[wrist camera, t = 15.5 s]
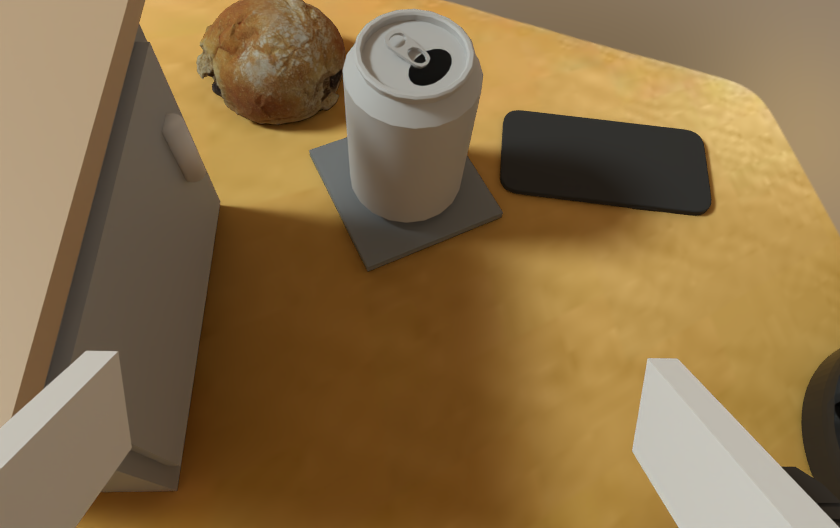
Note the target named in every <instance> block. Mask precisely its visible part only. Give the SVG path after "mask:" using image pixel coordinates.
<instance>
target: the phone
mask: <svg viewBox="0 0 840 528" xmlns="http://www.w3.org/2000/svg"><path fill="white" fill-rule="evenodd" d="M500 180H501V183H502V185H503V187H504V188H505V189H506V190H508V191H510V192H512V193H516V194H522V195H530V196H538V197H546V198H554V199H562V200H570V201H579V202H587V203H595V204H603V205H611V206H619V207H627V208H632V209H640V210H648V211H659V212H667V213H675V214H684V215H693V216H697V215H702V214H704V213H705V212H706V211H707V210H708V209H709V207H710V205H711V193H710V185H709V178H708V170H707V163H706V156H705V149H704V143H703V141H702V139H701V137H700V136H699V135H698V134H696V133H694V132H692V131H689V130H684V129H676V128H667V127H659V126H650V125H642V124H633V123H624V122H616V121H607V120H599V119H590V118H582V117H573V116H565V115H556V114H547V113H539V112H530V111H521V110H516V111H511V112H509V113H508V114H507V115H506V116H505V118H504V122H503V132H502V150H501V170H500Z"/></svg>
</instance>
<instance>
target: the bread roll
mask: <svg viewBox="0 0 840 528" xmlns="http://www.w3.org/2000/svg"><path fill="white" fill-rule="evenodd" d="M200 46H201V47H202V49H203V53H202V54H201V55H199V56H198V58H197V72H198V74H200V76H201V78H202V79H203V78H204V77H207V76H211V77H213V79H214V81H215V82H214V83H213V84H212V90H213V92H214V93H216V94H217V95H219V96H221V97H222V98H223V99H224V102H225V104H226V106H227V107H228V108H230V109H231V110H233V111H235V112H236V114H237V115H241V116H243V117H245V118H248V119H249V120H252V121H254V122H257V123H260V124H264V123H268V124H277V125H279V124H282V123H287V122H295V121H300V120H303V119H307V118H309V117H311V116H313V115H315V114H316V113H317V112H318V111H319V110H322V109H326V110H329V109H330V108H331V107H332V106H333V105H334V104H335V103H336V101H337V99H338V97H339V95H338V94H335V92H336V91H337V89H338V86H339V83H340V81H341V78H342V74H343V67H344V63H345V48H344V43H343V40H342V37H341V35H340V33H339V31H338V29H337V28H336V26H335V25H334V24H333V22H332V21H331V20H330V19H329V18H328V17H326V16H325V15H324V14H323V13H322V12H321V11H320V10H319V9H318V8H316V7H314V6H312V5H310V4H307V3H305V2H304V1H303V0H241V1H238V2H236V3H234V4H232V5H231V6H230V7H228V8H226V9H225V10H224V11H223V12H222V13H221V14H220V15H219V16H218V18H217V19H216V20H215V22H214V23H213V24H212V25H210V26H208V27H207V29H206V32H205V34H204V36H203V39H202V40H201V42H200Z"/></svg>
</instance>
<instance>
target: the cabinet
mask: <svg viewBox="0 0 840 528" xmlns="http://www.w3.org/2000/svg"><path fill="white" fill-rule="evenodd" d="M144 3H145V0H0V428H1V427H2V426H3V425H4V424H5V423H6V422H7V421H9V420H10V419H11V418H12V417H13V416H14V415H15V414H16V413H17V412H19V411H20V410H21V409H22V408H23V407H24V406H25V405H26V404H27V403H29V402H30V401H31V400H32V399H33V398H34V397H35V396H36V395H37V394H39V393H40V392H41V391H42V390H43V389H44V388H45V387H46V386H47V385H49V384H50V383H51V382H52V381H53V380H54V379H55V378H56V377H58V376H59V375H60V374H61V373H62V372H63V371H64V370H65V369H66V368H68V367H69V366H70V365H71V364H72V363H73V362H74V361H75V360H76V359H78V358H79V357H80V356H81V355H82V354H83V353H84V352H85V351H118V353H119V360H120V367H121V374H122V382H123V389H124V396H125V403H126V410H127V417H128V424H129V431H130V439H131V446H132V448H131V450H130V451H129V452H128V454H127V455H126V457H125V458H124V459H123V461H122V462H121V464H120V465H119V467H118V468H117V469H116V471H115V472H114V474H113V475H112V476H111V478H110V479H109V481H108V482H107V483H106V485H105V486H104V488H103V489H102V491H101V492H144V491H177V489H178V482H179V475H180V469H181V462H182V455H183V449H184V442H185V435H186V429H187V422H188V415H189V409H190V402H191V395H192V389H193V382H194V375H195V368H196V362H197V355H198V348H199V342H200V335H201V328H202V322H203V315H204V308H205V302H206V295H207V288H208V282H209V275H210V268H211V262H212V255H213V248H214V242H215V235H216V228H217V222H218V215H219V208H220V200H219V198H218V195H217V193H216V191H215V189H214V186H213V184H212V182H211V180H210V177H209V175H208V173H207V171H206V168H205V166H204V164H203V162H202V159H201V157H200V155H199V153H198V150H197V148H196V146H195V143H194V141H193V139H192V137H191V134H190V132H189V130H188V128H187V125H186V123H185V121H184V119H183V116H182V114H181V112H180V110H179V107H178V105H177V103H176V101H175V98H174V96H173V94H172V91H171V89H170V87H169V85H168V82H167V80H166V78H165V76H164V73H163V71H162V69H161V67H160V64H159V62H158V60H157V58H156V55H155V53H154V51H153V49H152V46H151V44H150V42H147V40H146V38H145V36H144V33H143V31H142V29H141V27H140V24H139V22H140V18H141V14H142V10H143V6H144Z"/></svg>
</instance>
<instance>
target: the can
mask: <svg viewBox="0 0 840 528" xmlns="http://www.w3.org/2000/svg"><path fill="white" fill-rule="evenodd" d="M482 80H483V73H482V69H481V66H480V63H479V59H478V58H477V56H476V54H475V51H474V47H473V44H472V41H471V39H470V38H469V37H468V35H467V34H466V33H465V31H464V30H463V29H462V28H461V27H460V26H458V25H457V24H456V23H454V22H453V21H452V20H450V19H449V18H447V17H444V16H442V15H439V14H437V13H434V12H431V11H424V10H418V9H406V10H396V11H392V12H389V13H386V14H383V15H380V16H378V17H377V18H375V19H374V20H372V21H371V22H369V23H368V24H366V25H365V27H364V28H363V29H362V31H361V32H360V33H359V34H358V36H357V38H356V42H355V44H354V46H353V47H352V48H351V50H350V51H349V52H348V53H347V56H346V59H345V63H344V67H343V83H344V97H345V111H346V125H347V139H348V153H349V167H350V177H351V183H352V189H353V190H354V192H355V194H356V196H357V197H358V199H359V201H360V202H361V203H362V204H363V205H364V206H365V207H367V208H368V209H369V210H370V211H371V212H372V213H374V214H376V215H379V216H381V217H383V218H385V219H387V220H392V221H398V222H405V223H409V222H417V221H424V220H427V219H429V218H431V217H434V216H436V215H438V214H440V213H441V212H443V211H444V210H445V209H446V208H447V207H448V206H449V205H451V204H452V202H453V201H454V199H455V197H456V195H457V193H458V192H459V189H460V185H461V180H462V176H463V171H464V166H465V162H466V157H467V153H468V148H469V144H470V139H471V135H472V130H473V126H474V121H475V117H476V112H477V108H478V103H479V99H480V94H481V89H482Z"/></svg>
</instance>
